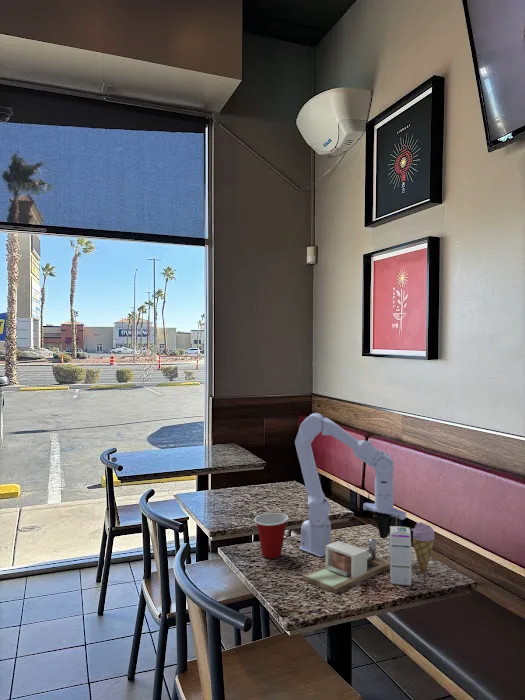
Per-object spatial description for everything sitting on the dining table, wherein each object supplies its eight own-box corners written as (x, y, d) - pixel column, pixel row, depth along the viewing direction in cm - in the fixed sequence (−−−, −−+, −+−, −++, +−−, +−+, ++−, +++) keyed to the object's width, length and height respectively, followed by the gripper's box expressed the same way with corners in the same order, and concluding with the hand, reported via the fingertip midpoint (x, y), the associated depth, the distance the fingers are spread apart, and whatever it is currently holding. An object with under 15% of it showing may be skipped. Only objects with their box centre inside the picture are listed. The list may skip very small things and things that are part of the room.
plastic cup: (248, 551, 172) (248, 514, 172) (279, 546, 177) (279, 510, 177) (261, 563, 162) (262, 524, 162) (293, 558, 167) (294, 520, 167)
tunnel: (325, 567, 157) (325, 545, 157) (338, 562, 161) (338, 540, 161) (354, 578, 149) (354, 555, 149) (366, 572, 154) (367, 550, 154)
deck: (302, 579, 151) (302, 574, 151) (360, 555, 170) (360, 551, 170) (335, 593, 143) (335, 588, 143) (392, 566, 161) (392, 562, 161)
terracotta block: (332, 567, 154) (332, 553, 154) (341, 564, 157) (341, 550, 157) (343, 572, 151) (343, 557, 151) (352, 568, 154) (352, 554, 154)
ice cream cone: (406, 571, 157) (406, 520, 157) (416, 565, 162) (416, 516, 162) (427, 578, 153) (428, 525, 153) (437, 572, 157) (437, 520, 157)
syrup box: (411, 585, 148) (412, 533, 148) (389, 583, 149) (390, 531, 149) (410, 577, 154) (410, 526, 154) (389, 575, 155) (389, 525, 155)
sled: (327, 569, 155) (327, 550, 155) (365, 553, 167) (365, 535, 167) (345, 576, 150) (346, 557, 150) (383, 559, 162) (383, 541, 162)
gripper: (411, 496, 166) (411, 540, 166) (372, 487, 176) (372, 528, 176) (398, 500, 161) (398, 545, 161) (359, 491, 172) (359, 533, 172)
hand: (383, 537), depth 168 cm, fingers closed
